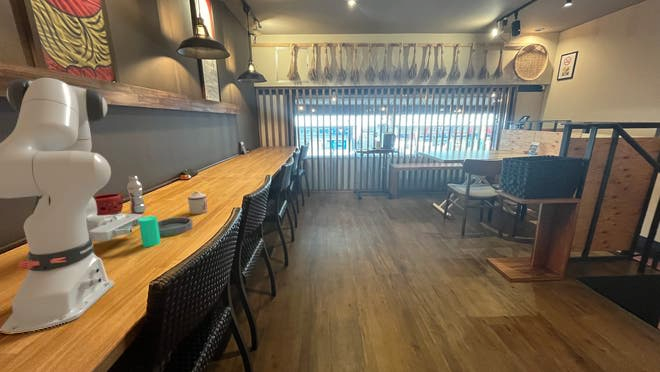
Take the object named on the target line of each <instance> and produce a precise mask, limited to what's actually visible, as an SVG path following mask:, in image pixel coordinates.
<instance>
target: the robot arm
mask: <svg viewBox="0 0 660 372" xmlns="http://www.w3.org/2000/svg"><path fill="white" fill-rule="evenodd" d="M6 99H7V100H8V102H9V104H10V106H11V108H13V109H14V110H15V111H16V112H18V118H17V122H16V126H15V128H14V129H13V131H12V132H11V133H10V134H9V135H8V136H7V137H6V138H5V139H4V140H3V141H1V142H0V199H17V198H26V197H27V198H28V197H29V198H30V197H35V202H34V204H33V206H32V207H33V208H32V211H31V214H30V215H29V216H28V217H27V218H26V219H25V221H24V223H23V231H24V234H25V238H26V243H27V246H28V249H29V251H28V252H27V253H28V254H27V258H26V260H22V261H20V262H19V263H18V265H17V266H18V269H19V270H20V271H23V270H28V271H27V273H26V275H25V277H24V279H23V281H22V282H21V283H20V287H18V290H17V292H16V294H15V296H14V298H13V299H12V303H11V304H12V306H11V307H12V313H11V314H10V316H9V317H8V319H6V320H5V322H4V323H3V324H2V326H1V327H0V331H4V332H23V331H30V330H35V329H39V328H45V327H51V326H54V327H56V326H55V325H58V326H60V325H59V324H61V325H63V324H62V323H64V324H66V323H65V322H67V323H69V322H71V321H73V320H76V319H78V318H79V317H81V316H82V315H83V314H84V313H85V312H86V311H88V309H90V307H92V306H93V305H94V304H95V303H96V302H97V301H98V300H99V299H100V298H101V297H103V296H104V294H106V293H107V292H108V291H109V290H110V289H111V288H112V287H114V285H115V281H114V280H113V279H109V278H108V275H107V272H106V269H105V266H104V263H103V260H102V258H100V257H98V256H97V255H96V254H95V253H94V251H95V250H94V249H95V248H94V242H108V241H110V240H113V239H115V238H116V237H119V236H124V235H130V234H132V232H133V229H134V228H135V227H138V226H139V220H140V219H141V218H144V217H145V216H144V215H143V214H141V213H124V212H122V213H114V214H110V215H99V216H97V215H98V208H97V202H96V200H95V198H94V197H93V196H95V195H96V193H97V192H98V191H101V189H103V188H105V186H106V185H107V184H108V182H109V181H110V179H111V176H112V170H111V169H112V168H111V166H110V164H109V162H108V161H107V159H106V158H105V157H104V156H103V155H101V154H100V153H99V152H91V151H92V148H93V147H92V145H93V144H92V143H93V142H92V134H91V128H90V127H91V126H90V123H91V125H92V124H95V123H96V122H100V121H102V120H104V119H105V117H106V114H107V113H108V103H107V101H106V99H105V97H104V95H103V94H102V93H101V92H100V91H97V90H94V89H93V88H92V89H91V88H83V87H79V86H76V85H75V86H74V85H71V84H67V83H66V82H64V81H62V80H59V79H57V78H53V77H41V78H37V79H34V80H31V79H27V78H26V79H25V78H21V79H20V78H19V79H14V80H12V81H10V82H9V83H8V86H7V89H6ZM89 122H90V123H89ZM15 328H16V329H15ZM51 328H52V327H51ZM12 329H13V330H12Z"/></svg>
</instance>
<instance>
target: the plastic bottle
mask: <svg viewBox="0 0 660 372" xmlns="http://www.w3.org/2000/svg"><path fill="white" fill-rule="evenodd" d="M126 188H127V189H126V190H127V191H128V195H129V200H130V202H129V203H130V207H129V208H130V209H129V210H130V212H131V214H141V213H144V212H145V211H146V208H147V207H146V203H145V202H144V201H145V200H144V198H143V197H144V196H143V184H142V183H141V182H140V181H139V178H138V175H130V176H128V183H127V185H126Z"/></svg>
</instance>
